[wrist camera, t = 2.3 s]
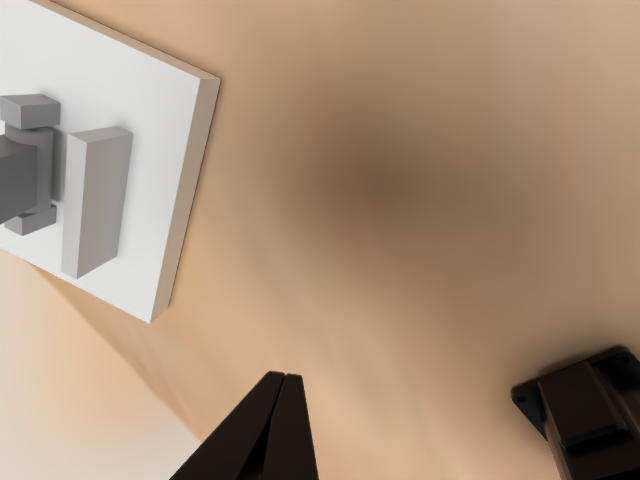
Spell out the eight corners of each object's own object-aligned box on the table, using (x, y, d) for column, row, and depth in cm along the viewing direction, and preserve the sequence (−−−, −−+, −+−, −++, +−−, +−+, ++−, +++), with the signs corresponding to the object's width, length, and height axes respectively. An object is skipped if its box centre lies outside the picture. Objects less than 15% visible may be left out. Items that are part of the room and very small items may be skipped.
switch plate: (221, 78, 19) (159, 79, 15) (168, 307, 26) (116, 353, 22) (-41, -41, 20) (-173, -74, 16) (-22, 211, 27) (-108, 237, 23)
